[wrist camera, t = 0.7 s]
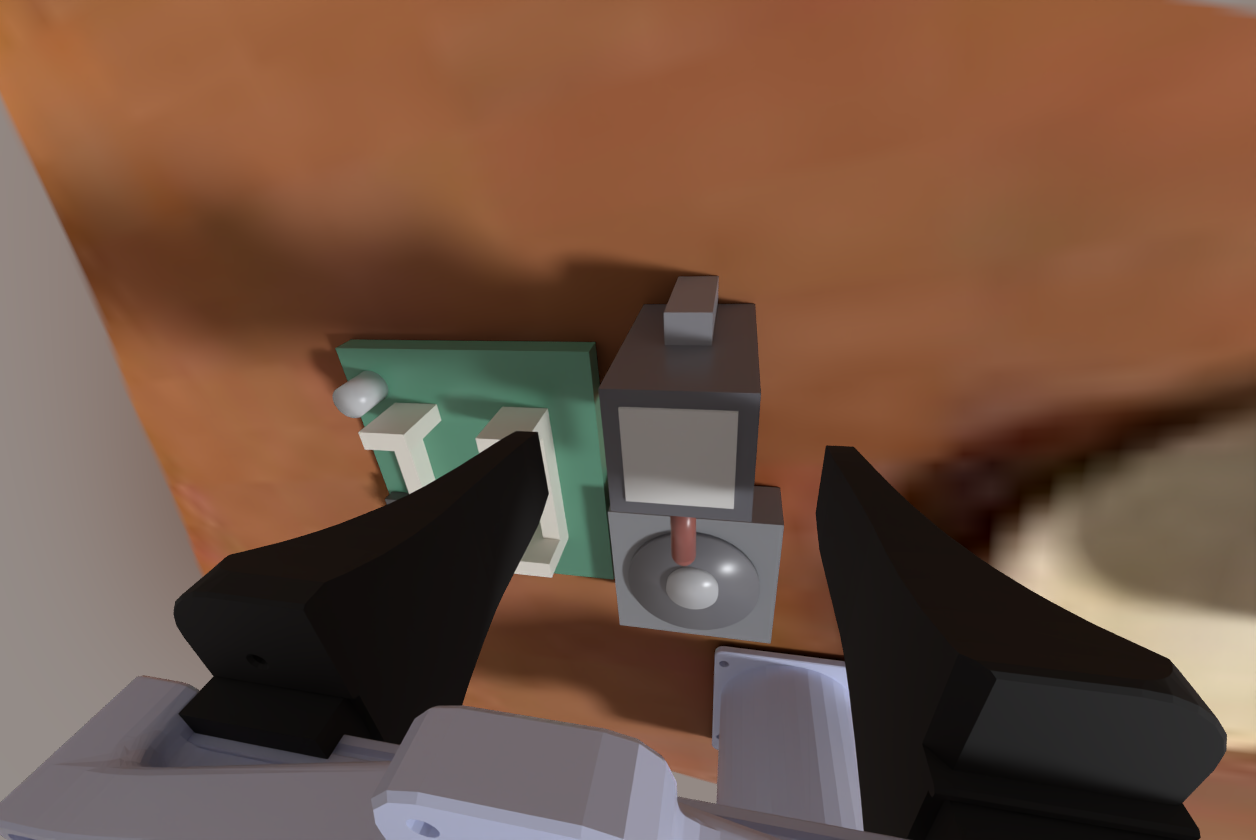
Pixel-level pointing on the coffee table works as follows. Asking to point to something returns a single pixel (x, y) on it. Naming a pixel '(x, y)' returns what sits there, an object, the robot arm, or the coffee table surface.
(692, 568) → the grey dished knob block
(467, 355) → the board
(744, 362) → the plug
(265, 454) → the coffee table surface
